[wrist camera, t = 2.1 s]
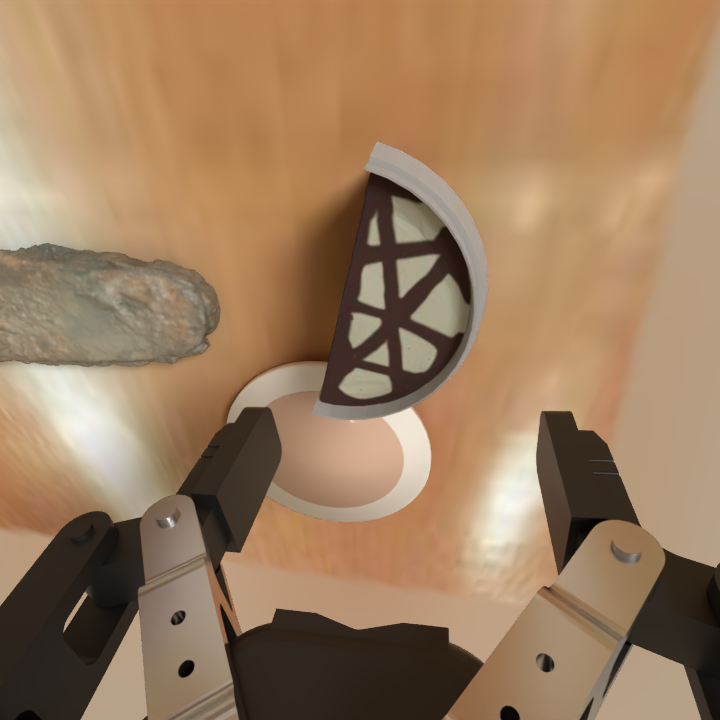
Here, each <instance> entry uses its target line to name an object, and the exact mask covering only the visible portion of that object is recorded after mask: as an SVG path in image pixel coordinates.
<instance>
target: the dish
mask: <svg viewBox="0 0 720 720" xmlns="http://www.w3.org/2000/svg"><path fill="white" fill-rule="evenodd" d="M327 364H328V362H323V361H302V362H293V363H288V364H283V365H280V366H277V367H274V368H271V369H269V370H267V371H265V372H263V373H261V374H259V375H258V376H256V377H255V378H254V379H252V380H251V381H250V382H249V383H248V384H247V385H246V386H245V387H244V388H243V389H242V391H241V392H240V394H239V395H238V396H237V398H236V400H235V401H234V403H233V405H232V407H231V409H230V411H229V415H228V419H227V424H228V423H235V421H236V419H237V418H238V416H239V415H240V413H241V411H242V410H243V409H244V408H245V407H269V408H270V409H271V411H272V413H273V417H274V420H275V424H276V427H277V431H278V434H279V438H280V441H281V446H282V455H281V461H280V464H279V466H278V468H277V471H276V473H275V475H274V477H273V480H272V482H271V484H270V486H269V489H268V491H267V493H266V496H268V497H269V498H271V499H272V500H274V501H275V502H277V503H279V504H281V505H282V506H284V507H286V508H289V509H291V510H293V511H295V512H298V513H301V514H304V515H307V516H310V517H314V518H317V519H323V520H328V521H337V522H360V521H368V520H374V519H378V518H381V517H385V516H388V515H390V514H392V513H395V512H397V511H398V510H400V509H402V508H404V507H405V506H406V505H408V504H409V503H410V502H412V501H413V500H414V499H415V498H416V497H417V495H418V494H419V493H420V492H421V490H422V489H423V487H424V486H425V484H426V481H427V479H428V476H429V472H430V468H431V443H430V438H429V435H428V431H427V428H426V426H425V424H424V422H423V420H422V418H421V417H420V415H419V414H418V412H417V411H416V409H415V408H414V407H413V406H412V407H410V408H408V409H406V410H404V411H401V412H398V413H395V414H392V415H388V416H385V417H380V418H373V419H367V420H340V419H330V418H325V417H320V416H315V415H311V414H312V411H313V409H314V406H315V403H316V401H317V398H318V395H319V393H320V390H321V387H322V385H323V382H324V377H325V373H326V368H327Z"/></svg>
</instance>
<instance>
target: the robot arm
mask: <svg viewBox="0 0 720 720" xmlns="http://www.w3.org/2000/svg"><path fill="white" fill-rule="evenodd" d="M281 455H282V446H281V441H280V438H279V434H278V431H277V427H276V424H275V420H274V417H273V413H272V411H271V409H270V408H269V407H245V408H244V409H243V410H242V411H241V413H240V415H239V416H238V418H237V419H236V421H235V423H228V424H227V425H226V426H224V427H223V428H222V429H221V430H219V431H218V432H217V433H216V434H215V436H214V437H213V439H212V440H211V442H210V443H209V445H208V448H206V449H205V451H204V452H203V454H202V455H201V458H199V460H198V462H197V463H196V465H195V466H194V468H193V469H192V471H191V472H190V474H189V475H188V477H187V478H186V480H185V481H184V483H183V484H182V486H181V488H180V489H179V491H178V492H177V494H176V495H172V496H168V497H166V498H163V499H161V500H159V501H158V502H156V503H155V504H153V505H152V506H151V507H150V508H149V509H148V510H147V511H146V512H145V514H144V515H143V517H140V518H136V519H131V520H127V521H122V522H118V523H113V521H112V520H111V518H110V517H109V515H108V514H106V513H105V512H101V511H94V512H89V513H86V514H83V515H81V516H79V517H77V518H75V519H73V520H72V521H70V522H69V523H68V524H66V525H65V526H64V527H63V528H62V529H61V530H60V531H59V533H58V534H57V535H56V536H55V538H54V539H53V540H52V541H51V543H50V544H49V545H48V547H47V548H46V549H45V550H44V551H43V553H42V554H41V555H40V557H39V558H38V559H37V560H36V562H35V563H34V564H33V566H32V567H31V568H30V569H29V570H28V572H27V573H26V574H25V576H24V577H23V578H22V579H21V581H20V582H19V583H18V584H17V586H16V587H15V588H14V590H13V591H12V592H11V593H10V595H9V596H8V597H7V598H6V600H5V601H4V602H3V603H2V605H1V606H0V720H80V719H81V718H82V716H83V714H84V712H85V710H86V708H87V706H88V704H89V702H90V701H91V698H92V697H93V695H94V693H95V691H96V689H97V687H98V685H99V683H100V682H101V680H102V678H103V676H104V674H105V672H106V670H107V668H108V666H109V664H110V663H111V661H112V659H113V657H114V655H115V653H116V651H117V649H118V647H119V645H120V644H121V642H122V640H123V638H124V636H125V634H126V632H127V630H128V628H129V626H130V624H131V623H132V621H133V619H134V617H135V615H136V613H137V611H138V610H139V616H140V628H141V641H142V653H143V665H144V677H145V691H146V703H147V716H146V717H145V718H144V719H143V720H595V718H596V716H597V714H598V711H599V709H600V707H601V705H602V703H603V701H604V699H605V698H606V696H607V694H608V692H609V690H610V688H611V686H612V684H613V683H614V681H615V679H616V677H617V675H618V673H619V671H620V669H621V667H622V666H623V664H624V662H625V660H626V658H627V656H628V654H629V652H630V651H631V649H632V647H633V645H637V646H639V647H642V648H644V649H646V650H649V651H651V652H653V653H656V654H658V655H661V656H663V657H666V658H668V659H670V660H673V661H675V662H678V663H680V664H683V665H684V667H685V670H686V674H687V677H688V680H689V683H690V686H691V689H692V692H693V695H694V698H695V701H696V704H697V707H698V710H699V713H700V717H701V720H720V563H719V564H718V565H717V567H716V568H714V567H711V566H708V565H705V564H702V563H699V562H696V561H692V560H689V559H686V558H683V557H680V556H678V555H675V554H673V553H671V552H669V551H667V550H665V549H664V548H662V547H661V545H660V543H659V542H658V541H657V540H656V538H655V537H654V536H652V535H651V534H650V533H649V532H648V531H646V530H644V529H643V528H642V527H641V525H640V524H639V521H638V519H637V516H636V514H635V511H634V509H633V506H632V504H631V502H630V499H629V497H628V494H627V492H626V489H625V487H624V484H623V482H622V480H621V477H620V476H619V472H618V470H617V467H616V465H615V463H614V462H613V457H612V455H611V453H610V450H609V448H608V445H607V444H606V443H605V442H604V441H603V440H602V439H601V438H600V437H599V436H598V435H597V434H596V433H595V432H594V431H585V430H578V428H577V425H576V422H575V420H574V417H573V414H572V412H570V411H542V412H541V416H540V425H539V434H538V443H537V453H536V464H537V473H538V479H539V483H540V488H541V493H542V498H543V503H544V508H545V513H546V517H547V522H548V527H549V532H550V537H551V542H552V546H553V551H554V556H555V561H556V566H557V571H558V578H557V579H556V580H555V582H554V583H553V584H552V586H550V587H549V588H548V587H546V586H544V587H542V588H541V589H540V590H539V591H538V592H537V593H536V594H535V595H534V597H533V598H532V599H531V601H530V602H529V604H528V605H527V606H526V608H525V609H524V610H523V612H522V613H521V614H520V616H519V617H518V618H517V620H516V621H515V623H514V624H513V625H512V627H511V628H510V629H509V631H508V632H507V633H506V635H505V636H504V637H503V639H502V640H501V642H500V643H499V644H498V646H497V647H496V648H495V650H494V651H493V652H492V654H491V655H490V656H489V658H488V659H487V660H486V662H485V663H483V662H482V661H481V660H479V659H478V658H477V657H475V656H474V655H473V654H471V653H470V652H468V651H466V650H465V649H463V648H461V647H459V646H457V645H455V644H452V643H450V642H449V630H448V628H444V627H435V626H427V625H418V624H408V623H400V624H393V625H387V626H381V627H374V628H368V629H361V630H357V629H353V628H350V627H348V626H346V625H343V624H341V623H338V622H336V621H334V620H331V619H329V618H326V617H324V616H322V615H319V614H317V613H311V612H301V611H293V610H284V609H276V612H275V614H274V618H273V621H272V623H268V624H264V625H262V626H258V627H255V628H253V629H251V630H248V631H246V632H245V633H242V631H241V628H240V626H239V622H238V619H237V616H236V612H235V609H234V605H233V601H232V598H231V594H230V590H229V587H228V583H227V579H226V576H225V572H224V569H223V566H222V563H221V560H222V558H223V556H224V553H225V551H226V552H238V553H240V552H241V550H242V547H243V545H244V543H245V541H246V538H247V536H248V534H249V531H250V529H251V527H252V525H253V522H254V520H255V518H256V516H257V513H258V511H259V509H260V507H261V504H262V502H263V500H264V498H265V495H266V493H267V491H268V489H269V486H270V484H271V482H272V480H273V477H274V475H275V473H276V471H277V468H278V466H279V464H280V461H281ZM84 592H86V593H87V594H88V595H87V597H86V599H85V600H84V602H83V603H82V605H81V606H80V608H79V610H78V611H77V613H76V614H75V616H74V617H73V619H72V621H71V622H70V624H69V625H68V627H67V628H66V630H65V631H64V633H63V629H64V625H65V622H66V620H67V618H68V617H69V615H70V613H71V612H72V610H73V609H74V607H75V606H76V604H77V603H78V601H79V600H80V598H81V596H82V595H83V593H84Z"/></svg>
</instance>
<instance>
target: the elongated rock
mask: <svg viewBox="0 0 720 720" xmlns="http://www.w3.org/2000/svg"><path fill="white" fill-rule="evenodd" d="M219 316H220V307H219V303H218V299H217V295H216V293H215V290H214V289H213V287H212V286H210V285H209V284H208V283H207V282H206V281H205V279H204V278H203V277H202V276H201V275H200V274H199V273H198V272H196V271H195V270H189V269H185V268H183V267H182V266H178V265H176V264H173V263H171V262H168V261H161V260H158V259H157V260H155V261H154V262H150V263H149V262H143V261H141V260H138V259H134V258H130V257H128V256H126V255H125V254H121V253H112V252H102V253H96V252H93V251H91V250H83V251H78V250H74V249H70V248H66V247H62V246H57V245H52V244H49V243H45V244H41V245H39V246H37V245H34V246H31V247H30V248H27V249H24V248H20V249H19V250H17V251H11V250H0V361H1V362H3V361H12V360H17V361H21V362H23V363H25V364H30V363H33V362H36V363H39V364H46V365H55V366H58V365H60V364H63V365H65V364H71V365H81V366H85V367H90V366H93V365H97V366H108V365H111V364H116V365H120V366H142V365H145V364H148V363H149V362H150V361H157V362H158V363H164V362H168V363H170V364H173V363H175V362H177V359H178V358H181V357H185V356H188V355H191V354H192V355H195V354H198V353H200V354H202V353H203V352H204V351H205V350H206V349H207V348H208V347H209V346H210V343H209V341H208V340H207V339H206V338H205V337H204V336H205V335H208V334H210V333H212V332H213V331H214V330H215V329H216V327H217V324H218V322H219Z"/></svg>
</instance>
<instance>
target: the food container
mask: <svg viewBox="0 0 720 720" xmlns="http://www.w3.org/2000/svg"><path fill="white" fill-rule="evenodd" d="M365 170H367V171H369V172H371V173H370V176H369V182H368V185H367V188H366V191H365V201H364V206H363V210H362V215H361V219H360V224H359V228H358V232H357V236H356V241H355V245H354V250H353V254H352V259H351V263H350V268H349V272H348V276H347V280H346V285H345V289H344V293H343V297H342V301H341V305H340V310H339V315H338V320H337V324H336V329H335V334H334V338H333V342H332V346H331V351H330V355H329V359H328V364H327V368H326V373H325V377H324V382H323V385H322V387H321V390H320V393H319V395H318V398H317V401H316V403H315V406H314V409H313V411H312V414H311V415H315V416H320V417H325V418H330V419H340V420H367V419H373V418H380V417H385V416H388V415H392V414H395V413H398V412H401V411H404V410H406V409H408V408H410V407H412V406H414V405H417V404H418V403H420V402H421V401H423V400H425V399H426V398H428V397H429V396H431V395H432V394H433V393H435V392H436V391H437V390H438V389H439V388H440V387H441V386H442V385H443V384H444V383H446V382H447V380H448V379H450V378H451V377H452V376H453V374H454V373H455V372H456V371H457V369H458V368H459V367H460V366H461V364H462V363H463V362H464V360H465V358H466V357H467V355H468V353H469V351H470V349H471V348H472V346H473V344H474V341H475V338H476V335H477V333H478V330H479V327H480V324H481V321H482V318H483V315H484V312H485V308H486V301H487V295H488V266H487V261H486V256H485V251H484V246H483V243H482V240H481V238H480V235H479V232H478V230H477V227H476V225H475V222H474V220H473V219H472V217H471V215H470V214H469V212H468V211H467V209H466V207H465V206H464V204H463V202H462V201H461V199H460V198H459V197H458V196H457V195H456V194H455V192H454V191H453V190H452V189H451V188H450V187H449V186H448V184H447V183H446V182H445V181H444V180H443V179H442V178H440V177H439V176H438V175H437V174H436V173H434V172H433V171H432V170H431V169H430V168H428V167H427V166H426V165H425V164H423V163H422V162H420V161H418V160H416V159H415V158H413V157H411V156H409V155H408V154H406V153H404V152H402V151H401V150H398V149H396V148H393V147H390V146H388V145H385V144H382V143H380V142H377V143H376V145H375V147H374V149H373V151H372V153H371V155H370V157H369V162H368V164H367V165H366V167H365Z"/></svg>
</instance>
